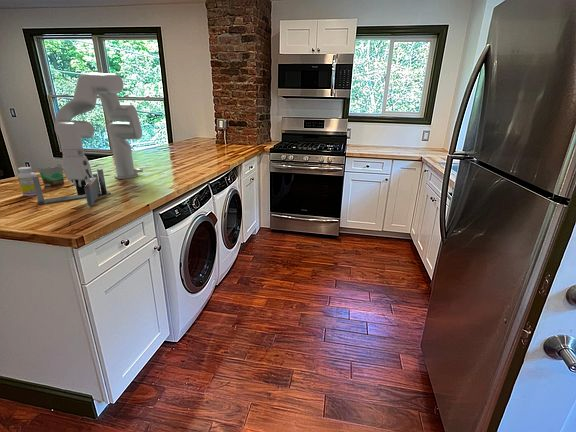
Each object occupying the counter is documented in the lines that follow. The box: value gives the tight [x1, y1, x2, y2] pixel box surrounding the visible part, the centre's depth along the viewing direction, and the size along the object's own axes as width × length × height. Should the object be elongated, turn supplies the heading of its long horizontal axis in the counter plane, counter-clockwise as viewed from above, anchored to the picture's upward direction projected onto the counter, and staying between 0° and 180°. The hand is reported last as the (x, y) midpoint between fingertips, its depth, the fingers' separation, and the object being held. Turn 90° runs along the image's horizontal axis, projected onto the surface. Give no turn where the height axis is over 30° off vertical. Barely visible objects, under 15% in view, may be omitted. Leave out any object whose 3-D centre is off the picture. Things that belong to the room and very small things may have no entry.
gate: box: [84, 173, 101, 207], centre depth 138 cm, size 22×2×9 cm, turn 22°
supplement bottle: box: [17, 166, 37, 197], centre depth 143 cm, size 7×7×13 cm
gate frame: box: [32, 168, 111, 206], centre depth 141 cm, size 28×6×12 cm, turn 134°
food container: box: [37, 163, 65, 188], centre depth 159 cm, size 12×6×10 cm, turn 168°
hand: (82, 194), depth 134 cm, fingers closed
